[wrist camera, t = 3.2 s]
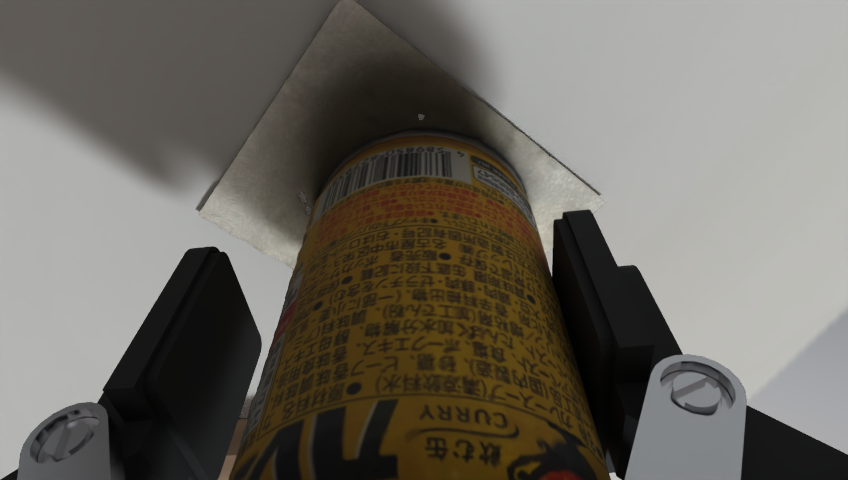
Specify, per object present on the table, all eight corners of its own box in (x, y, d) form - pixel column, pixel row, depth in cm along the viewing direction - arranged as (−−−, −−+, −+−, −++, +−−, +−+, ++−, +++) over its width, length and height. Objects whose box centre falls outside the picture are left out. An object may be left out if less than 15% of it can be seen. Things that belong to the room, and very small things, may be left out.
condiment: (436, 345, 18) (451, 918, 8) (199, 211, 15) (-214, 866, 5) (605, 197, 15) (955, 856, 5) (346, -12, 12) (-27, 623, 2)
